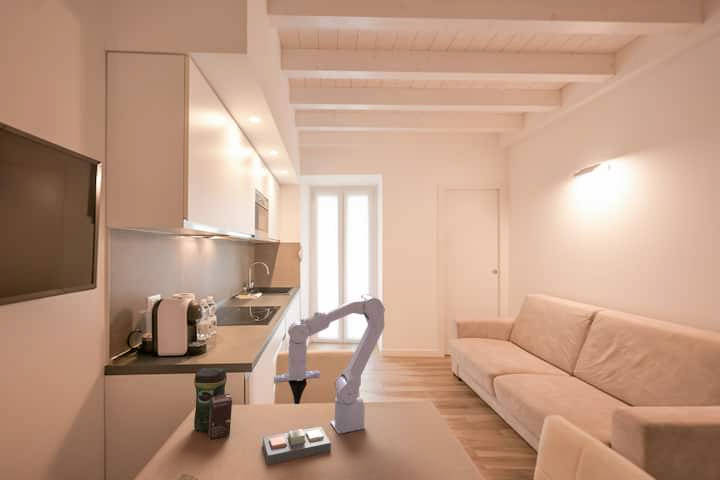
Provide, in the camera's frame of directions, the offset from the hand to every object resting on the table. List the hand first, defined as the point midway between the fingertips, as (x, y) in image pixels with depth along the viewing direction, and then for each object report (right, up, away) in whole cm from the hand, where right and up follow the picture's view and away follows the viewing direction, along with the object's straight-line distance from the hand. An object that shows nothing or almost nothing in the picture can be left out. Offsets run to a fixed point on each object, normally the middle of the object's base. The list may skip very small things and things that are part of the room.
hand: (296, 402), depth 118 cm
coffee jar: (-28, -9, +2) cm, 30 cm away
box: (-24, -9, -2) cm, 26 cm away
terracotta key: (-4, -9, -11) cm, 15 cm away
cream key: (+7, -9, -7) cm, 13 cm away
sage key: (+1, -8, -9) cm, 12 cm away
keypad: (+1, -9, -9) cm, 13 cm away
